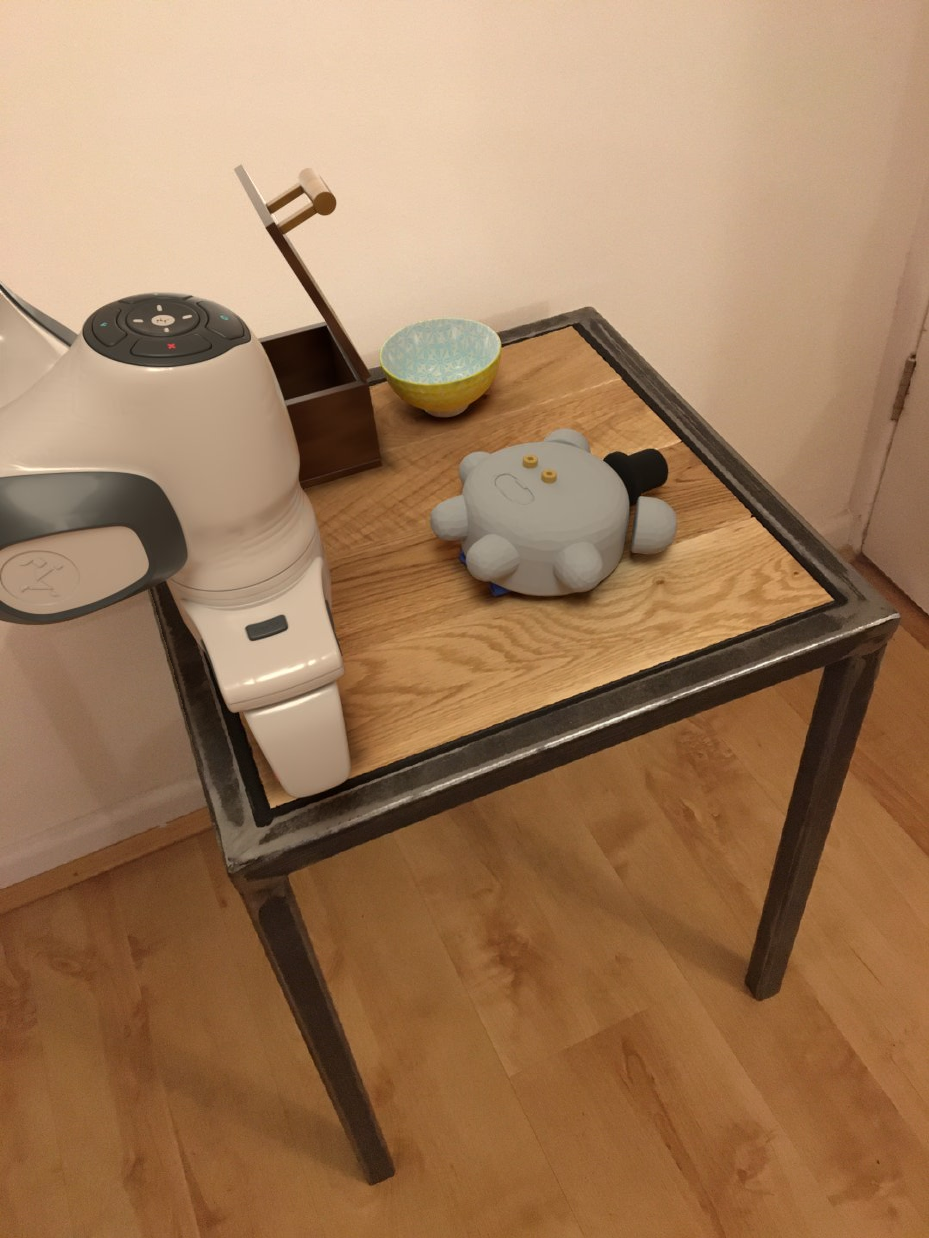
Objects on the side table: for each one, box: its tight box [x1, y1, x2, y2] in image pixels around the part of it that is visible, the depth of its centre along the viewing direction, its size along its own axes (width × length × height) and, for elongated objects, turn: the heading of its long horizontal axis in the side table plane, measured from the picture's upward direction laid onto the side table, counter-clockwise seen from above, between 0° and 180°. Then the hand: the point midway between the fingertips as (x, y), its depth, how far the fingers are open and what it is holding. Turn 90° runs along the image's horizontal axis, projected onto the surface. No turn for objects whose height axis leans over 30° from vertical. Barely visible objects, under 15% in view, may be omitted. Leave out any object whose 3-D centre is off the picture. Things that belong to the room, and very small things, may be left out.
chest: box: [257, 320, 383, 490], centre depth 86 cm, size 15×12×9 cm
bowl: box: [378, 316, 502, 418], centre depth 91 cm, size 11×12×6 cm
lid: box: [233, 163, 372, 381], centre depth 78 cm, size 15×12×6 cm
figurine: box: [429, 428, 678, 597], centre depth 76 cm, size 17×8×20 cm
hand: (299, 717), depth 64 cm, fingers open, 8 cm apart
